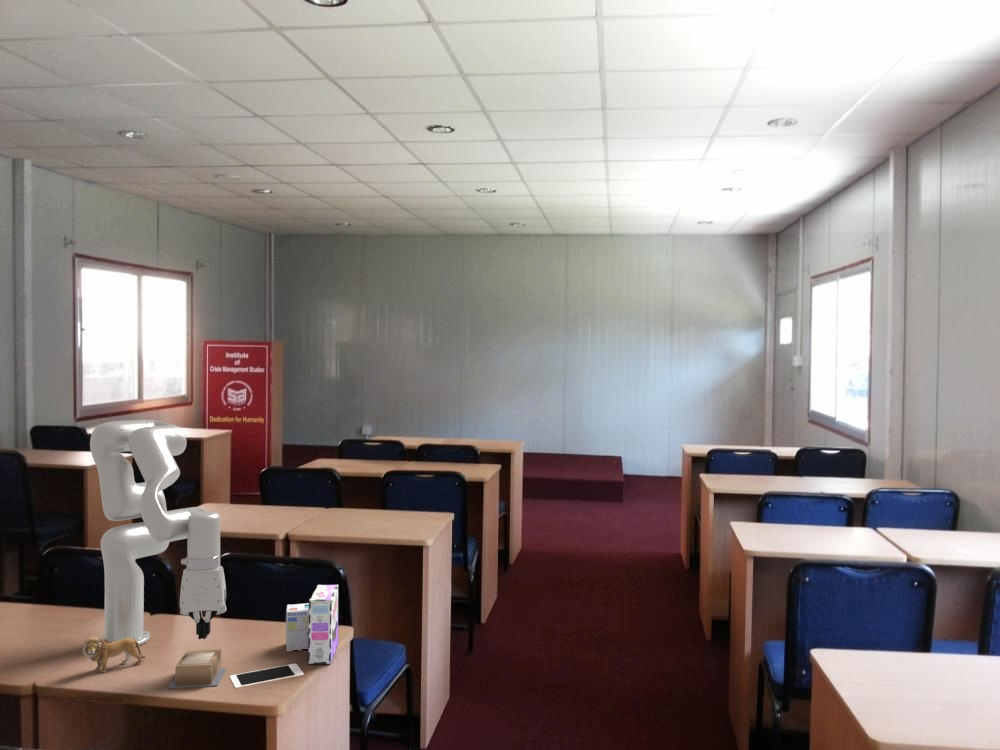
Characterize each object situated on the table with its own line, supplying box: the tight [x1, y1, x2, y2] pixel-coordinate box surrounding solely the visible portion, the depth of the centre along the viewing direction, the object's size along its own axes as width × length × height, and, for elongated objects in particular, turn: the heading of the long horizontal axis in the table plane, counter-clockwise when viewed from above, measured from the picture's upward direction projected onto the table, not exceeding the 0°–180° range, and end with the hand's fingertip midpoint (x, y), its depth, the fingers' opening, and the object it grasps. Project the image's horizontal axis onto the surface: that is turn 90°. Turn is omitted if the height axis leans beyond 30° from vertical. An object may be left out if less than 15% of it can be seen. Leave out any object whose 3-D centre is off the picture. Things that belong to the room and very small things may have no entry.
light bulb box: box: [285, 602, 309, 652], centre depth 200 cm, size 11×7×11 cm, turn 105°
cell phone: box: [229, 663, 304, 689], centre depth 180 cm, size 8×16×1 cm, turn 120°
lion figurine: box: [82, 636, 147, 673], centre depth 184 cm, size 15×5×9 cm, turn 138°
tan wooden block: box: [174, 648, 222, 686], centre depth 179 cm, size 5×8×10 cm
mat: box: [167, 667, 227, 690], centre depth 178 cm, size 10×11×1 cm
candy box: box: [307, 584, 339, 665], centre depth 194 cm, size 14×6×16 cm, turn 5°
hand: (203, 637), depth 183 cm, fingers closed
